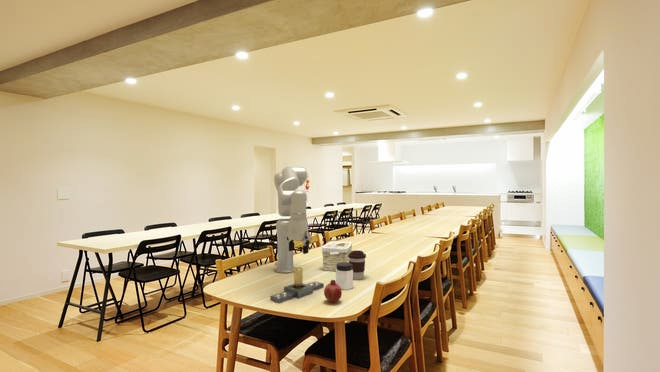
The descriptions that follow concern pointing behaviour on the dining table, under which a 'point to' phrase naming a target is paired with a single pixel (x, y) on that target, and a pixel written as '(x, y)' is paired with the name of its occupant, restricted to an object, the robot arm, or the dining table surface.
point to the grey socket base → (296, 292)
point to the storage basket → (335, 254)
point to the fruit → (332, 291)
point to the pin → (298, 278)
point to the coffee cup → (357, 264)
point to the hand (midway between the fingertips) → (298, 252)
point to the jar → (344, 275)
